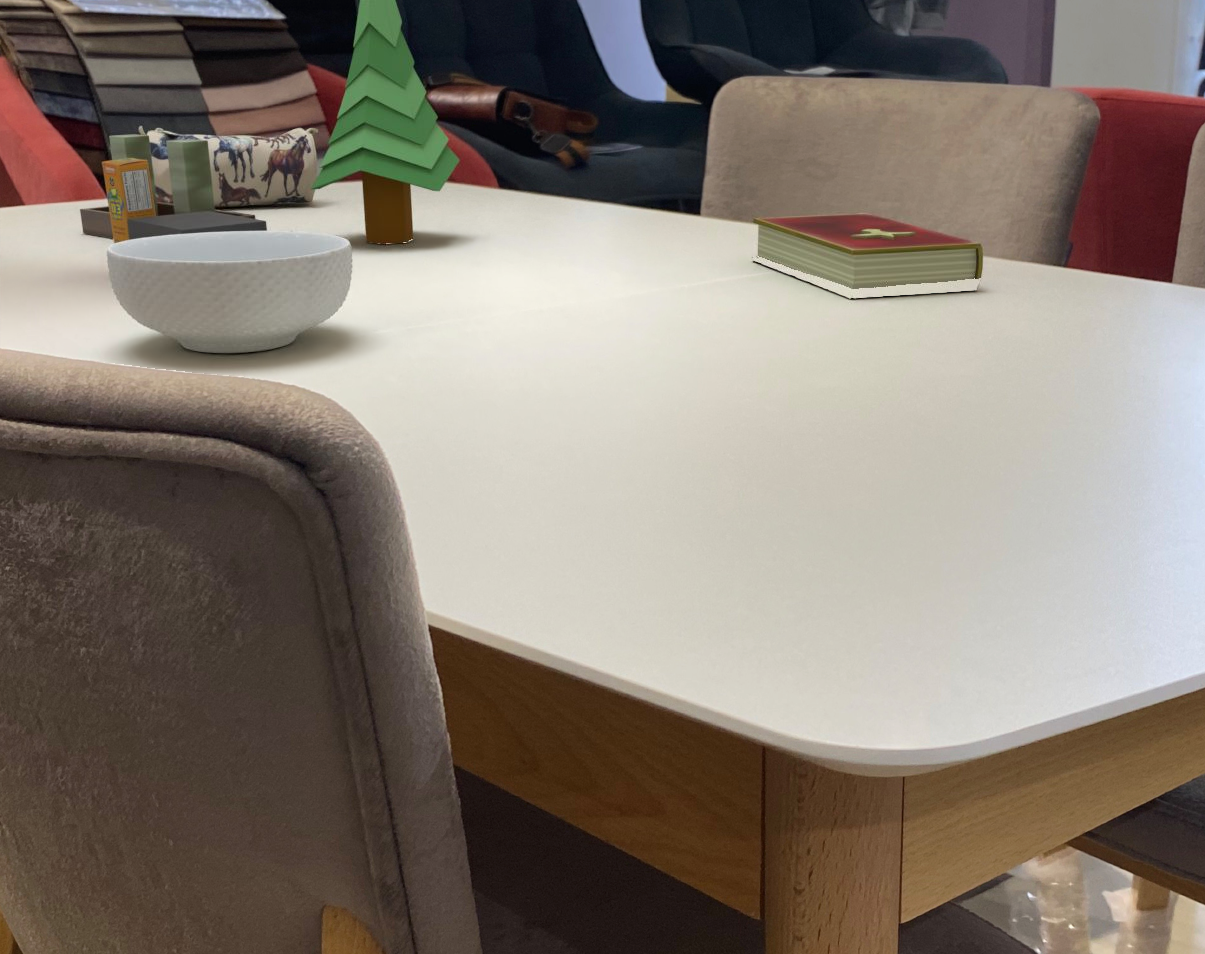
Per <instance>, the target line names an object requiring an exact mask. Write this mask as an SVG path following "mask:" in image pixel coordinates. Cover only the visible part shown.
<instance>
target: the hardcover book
mask: <svg viewBox="0 0 1205 954" xmlns="http://www.w3.org/2000/svg"><path fill="white" fill-rule="evenodd" d="M752 223H753V224H755V225H758V226H757V227H758V230H757V231H758V233H757V256H759V257H762V258H765V259H767V260H770V261H772V262H775V263H778V264H782V265H784V266H786V267H789V268H791V269H794V270H798V271H801V272H803V273H806V274H810V275H813V276H817V277H820V278H823V279H826V280H829V281H832V282H835V283H838V284H841V285H844V286H846V287H849V288H851V289H859V288H874V287H875V288H876V287H886V286H887V287H888V286H896V285H906V284H921V283H937V282H948V281H957V280H965V279H974V278H975V279H979V278H981V279H982V275H983V268H984V251H983V246H982V244H981V243H979V242H976V241H973V240H969V239H965V238H961V237H957V236H954V235H950V234H946V233H942V232H938V231H934V230H931V229H927V228H924V227H919V226H917V225H913V224H908V223H904V222H901V221H898V220H893V219H889V218H886V217H882V216H879V215H875V214H870V213H866V212H861V213H860V212H859V213H839V214H819V215H796V216H794V215H793V216H775V217H756V218H755V217H754V218H752Z"/></svg>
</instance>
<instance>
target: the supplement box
mask: <svg viewBox="0 0 1205 954" xmlns="http://www.w3.org/2000/svg"><path fill="white" fill-rule="evenodd" d="M147 161H148V160H141V159H135V158H126V159H117V160H112V159H111V160H110V159H109V160H105V161H101V165H102V171H103V178H104V185H105V191H106V199H107V204H108V205H107V206H109V212H110V219H111V225H112V232H113V238H114V239H113V244H115V243H118V242H122V241H126V240H130V239H129V232H128V224H127V219H133V218H143V217H153V216H156V212H155V205H154V199H153V193H152V186H151V179H150V173H149V166H148V162H147Z"/></svg>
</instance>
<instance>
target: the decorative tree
mask: <svg viewBox="0 0 1205 954" xmlns="http://www.w3.org/2000/svg"><path fill="white" fill-rule="evenodd" d="M358 4H359V5H358V10H357V18H356V25H355V33H354V39H353V46H352V48H354V49H353V53H352V58H351V63H350V67H349V70H348V75H347V78H346V83H345V88H344V89H345V92H344V94H343V98H342V101H341V104H340V107H339V110H338V113H337V116H336V119H337V120H336V124H335V126H334V128H333V130H332V133H331V136H330V138H329V140H328V143H327V144H328V145H329V146H328V149H327V151H326V153H325V155H324V156H323V159H322V160H321V163H320V165H319V167H318V168H319V169H321V170H320V172H319V174H317V179H316V180H315V182H314V184H313V186H312V187H311V189H315V190H322V189H323V188H325V187H327V186H330V185H332V184H334V183H336V182H338V181H340V180H342V179H345V178H347V177H350V176H352V175H354V174H356V173H358V172H361V185H362V198H363V210H364V211H363V212H364V228H365V243H366V242H372V243H371V244H374V243H380V244H379V245H381V244H386V243H403V242H408V241H409V240H411V239H413V240H414V224H413V207H412V206H413V205H412V189H411V188H412V187H411V186H415V187H418V188H422V189H426V190H429V191H432V192H441V191H442V189H443V188H444V185H446V183H447V181H448V179H449V178H450V177H451V175H452V173H453V171H454V170H455V169H456V167H457V165H458V164H459V162H460V161H461V159H460V158H459V157H458V156H457V155H456V154H455V153H454V151H453V150H451V148H450V147H449V146H448V145H447V144H448V142H449V140H450V138H448V136H447V135H446V134H445V132H444V131H443V130H442V129H441V127H440V125H438V123H437V119H438V118H439V116H438V114H437V113H436V112H435V110H434V109H433V107H432V106H431V104H430V103H429V101H428V99H427V98H426V94H427V90H426V89H425V87H424V85H423V83H422V81H421V79H420V77H419V76H418V74H417V71H416V70H415V67H414V65H415V59H414V58H413V55H412V53H411V50H410V48H409V46H408V44H407V41H406V39H405V37H404V34H403V32H402V28H401V27H402V24H403V21H402V17H401V14H400V10H399V8H398V4H397V1H396V0H359V3H358ZM311 189H310V190H311ZM408 243H409V242H408ZM386 245H387V244H386Z"/></svg>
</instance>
